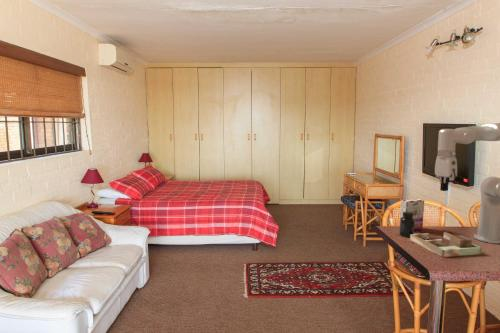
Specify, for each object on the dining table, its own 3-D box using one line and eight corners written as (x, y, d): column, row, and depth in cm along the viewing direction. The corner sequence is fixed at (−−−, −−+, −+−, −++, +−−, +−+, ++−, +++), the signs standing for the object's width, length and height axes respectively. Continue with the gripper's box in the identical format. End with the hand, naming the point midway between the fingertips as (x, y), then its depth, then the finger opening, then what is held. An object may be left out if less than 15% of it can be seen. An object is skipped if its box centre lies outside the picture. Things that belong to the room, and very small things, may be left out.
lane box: (445, 237, 180) (445, 232, 179) (481, 254, 158) (481, 247, 158) (409, 240, 176) (410, 234, 175) (442, 257, 154) (442, 250, 154)
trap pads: (427, 239, 176) (427, 239, 176) (452, 252, 160) (452, 251, 160) (413, 240, 175) (413, 240, 175) (437, 253, 159) (437, 252, 159)
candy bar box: (416, 227, 198) (418, 198, 195) (422, 229, 193) (425, 200, 191) (398, 228, 195) (401, 199, 192) (405, 231, 190) (407, 201, 188)
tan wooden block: (460, 247, 166) (461, 235, 166) (470, 252, 161) (471, 239, 160) (449, 248, 165) (450, 236, 164) (459, 253, 159) (460, 240, 159)
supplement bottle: (415, 237, 179) (416, 214, 178) (400, 236, 181) (402, 213, 179) (411, 233, 186) (413, 211, 184) (397, 232, 187) (399, 210, 186)
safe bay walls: (465, 246, 167) (465, 240, 167) (481, 254, 158) (481, 247, 158) (429, 249, 163) (430, 243, 163) (444, 256, 155) (444, 250, 154)
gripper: (465, 155, 169) (462, 192, 172) (440, 152, 184) (438, 187, 186) (452, 155, 167) (449, 193, 170) (428, 153, 182) (426, 188, 184)
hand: (444, 190), depth 178 cm, fingers closed
